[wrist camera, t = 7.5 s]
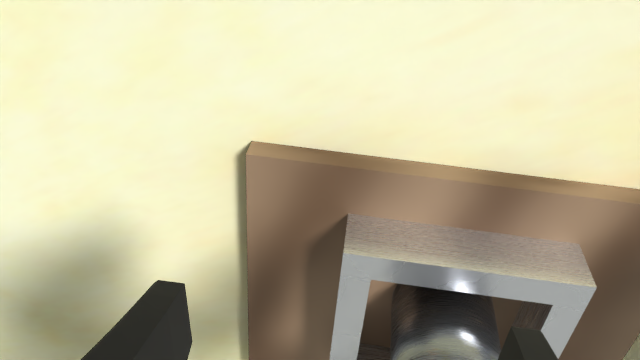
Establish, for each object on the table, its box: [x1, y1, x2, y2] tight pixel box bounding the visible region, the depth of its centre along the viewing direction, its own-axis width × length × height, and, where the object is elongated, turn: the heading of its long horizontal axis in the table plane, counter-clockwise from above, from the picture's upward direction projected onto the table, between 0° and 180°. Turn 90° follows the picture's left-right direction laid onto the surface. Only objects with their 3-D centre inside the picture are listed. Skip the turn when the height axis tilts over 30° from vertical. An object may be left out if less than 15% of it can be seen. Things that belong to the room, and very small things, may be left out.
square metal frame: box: [329, 214, 597, 360], centre depth 23 cm, size 9×9×2 cm
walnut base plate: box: [246, 141, 640, 360], centre depth 25 cm, size 18×14×1 cm
